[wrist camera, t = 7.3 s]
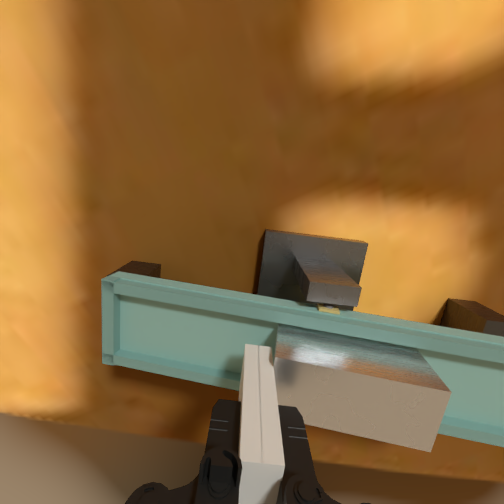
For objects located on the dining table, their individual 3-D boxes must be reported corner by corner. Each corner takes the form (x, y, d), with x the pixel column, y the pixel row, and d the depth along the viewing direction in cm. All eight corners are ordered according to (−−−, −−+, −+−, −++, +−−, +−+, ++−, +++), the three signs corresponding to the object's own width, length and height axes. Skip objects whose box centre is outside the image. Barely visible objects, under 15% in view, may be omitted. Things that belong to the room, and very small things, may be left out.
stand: (132, 212, 21) (77, 224, 15) (490, 256, 22) (594, 286, 15) (130, 355, 24) (83, 418, 18) (445, 390, 25) (515, 464, 18)
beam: (118, 267, 18) (101, 274, 16) (580, 344, 15) (615, 363, 13) (118, 352, 20) (102, 367, 18) (537, 439, 17) (564, 466, 15)
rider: (278, 323, 16) (275, 357, 13) (416, 348, 15) (451, 392, 12) (270, 371, 17) (265, 415, 14) (401, 397, 16) (430, 452, 13)
